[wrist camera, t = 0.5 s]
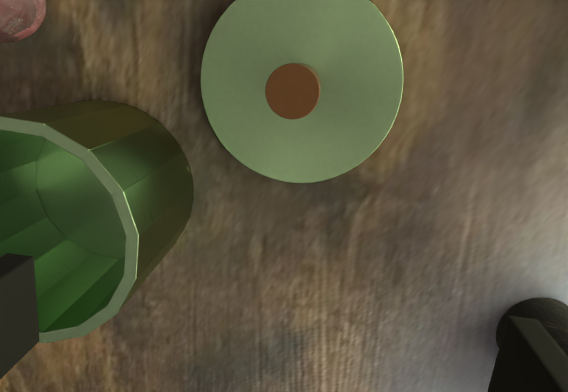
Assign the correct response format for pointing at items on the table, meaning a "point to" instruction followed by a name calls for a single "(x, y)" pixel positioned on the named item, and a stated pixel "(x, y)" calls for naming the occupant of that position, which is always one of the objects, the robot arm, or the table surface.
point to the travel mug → (541, 318)
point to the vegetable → (20, 18)
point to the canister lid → (301, 85)
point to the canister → (89, 206)
